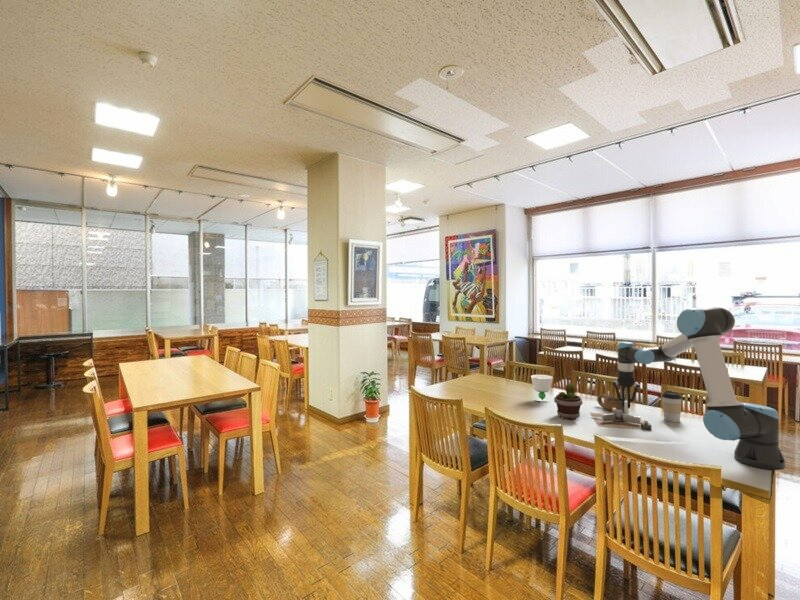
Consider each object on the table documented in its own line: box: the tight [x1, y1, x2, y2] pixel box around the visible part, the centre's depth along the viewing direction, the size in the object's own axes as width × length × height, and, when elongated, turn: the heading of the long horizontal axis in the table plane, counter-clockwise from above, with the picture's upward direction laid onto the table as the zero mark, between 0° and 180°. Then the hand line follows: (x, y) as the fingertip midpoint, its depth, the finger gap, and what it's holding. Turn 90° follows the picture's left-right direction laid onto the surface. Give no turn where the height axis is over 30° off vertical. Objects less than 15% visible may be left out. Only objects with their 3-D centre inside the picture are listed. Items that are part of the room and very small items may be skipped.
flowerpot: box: [553, 382, 583, 420], centre depth 215 cm, size 14×15×20 cm
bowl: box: [596, 393, 630, 413], centre depth 224 cm, size 18×14×10 cm
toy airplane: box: [589, 412, 652, 431], centre depth 203 cm, size 24×25×6 cm
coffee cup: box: [661, 390, 683, 423], centre depth 207 cm, size 9×9×15 cm
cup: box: [530, 374, 554, 400], centre depth 249 cm, size 14×14×16 cm
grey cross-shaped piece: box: [601, 408, 642, 424], centre depth 205 cm, size 16×18×6 cm
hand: (626, 413), depth 207 cm, fingers closed
